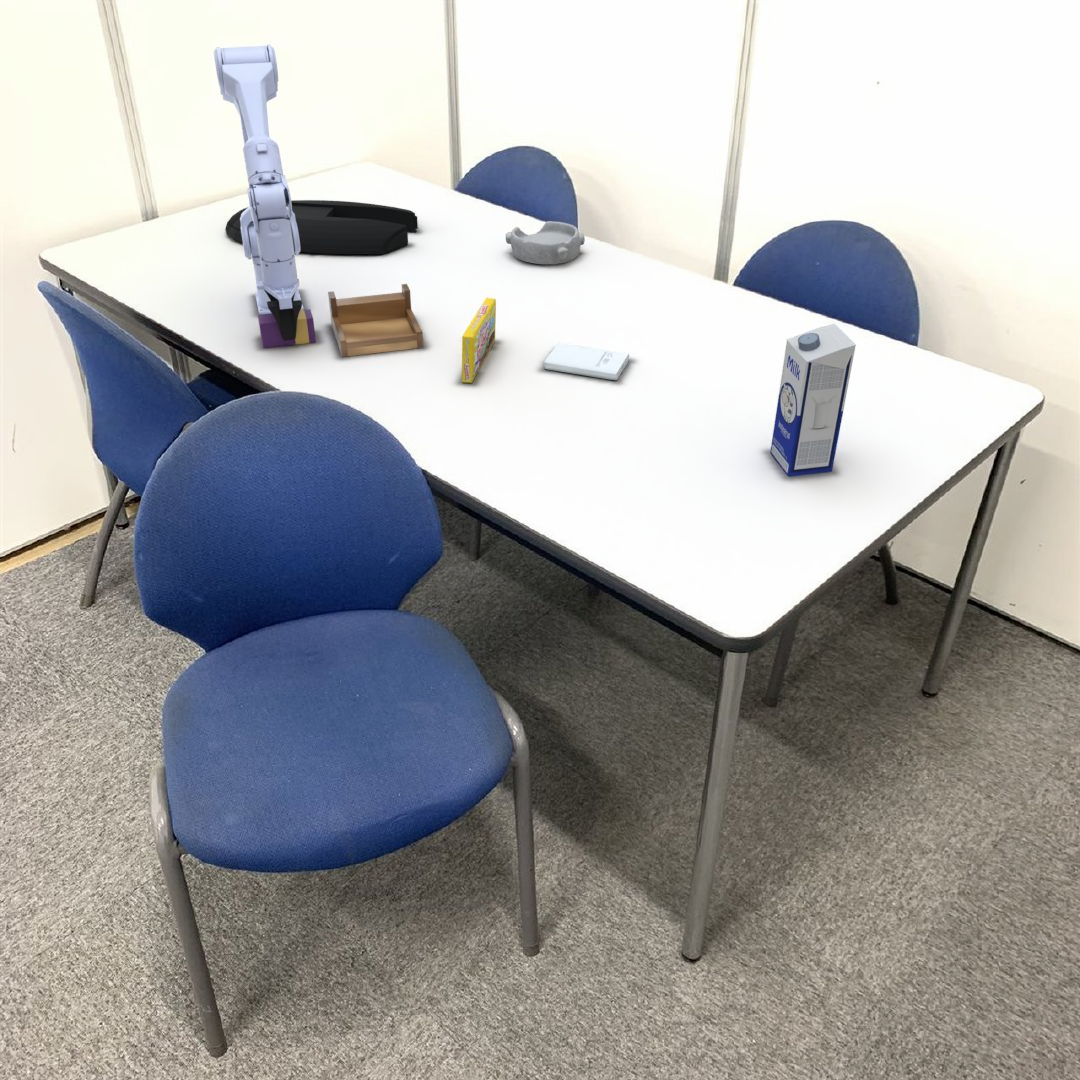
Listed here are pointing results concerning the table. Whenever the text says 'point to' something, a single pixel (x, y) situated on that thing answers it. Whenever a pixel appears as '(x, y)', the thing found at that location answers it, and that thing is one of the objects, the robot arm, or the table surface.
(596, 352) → the hard drive
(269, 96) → the robot arm
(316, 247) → the docking station
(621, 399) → the table surface
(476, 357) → the candy box
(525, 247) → the dish
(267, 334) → the chocolate bar
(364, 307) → the tray
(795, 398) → the milk carton
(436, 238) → the table surface
